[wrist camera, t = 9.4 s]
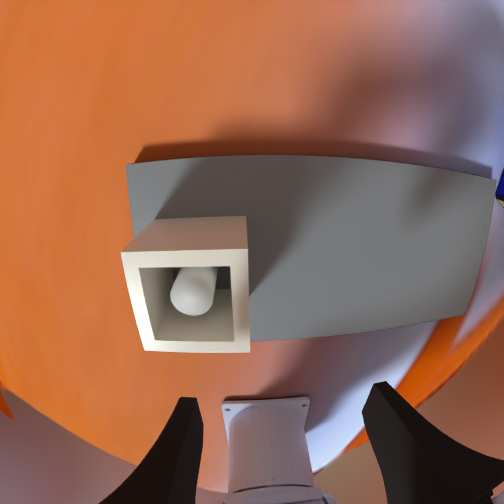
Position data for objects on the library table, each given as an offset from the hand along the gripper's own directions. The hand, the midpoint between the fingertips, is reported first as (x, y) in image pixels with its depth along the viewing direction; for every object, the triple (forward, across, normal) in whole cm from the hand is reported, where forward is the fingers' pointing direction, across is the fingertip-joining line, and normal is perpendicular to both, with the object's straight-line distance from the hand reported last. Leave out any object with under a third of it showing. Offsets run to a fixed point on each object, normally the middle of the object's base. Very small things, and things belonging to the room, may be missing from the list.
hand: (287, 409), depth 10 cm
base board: (+9, -5, -3) cm, 11 cm away
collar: (+8, +4, -3) cm, 10 cm away
